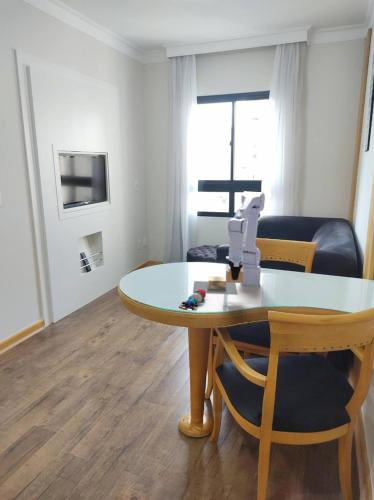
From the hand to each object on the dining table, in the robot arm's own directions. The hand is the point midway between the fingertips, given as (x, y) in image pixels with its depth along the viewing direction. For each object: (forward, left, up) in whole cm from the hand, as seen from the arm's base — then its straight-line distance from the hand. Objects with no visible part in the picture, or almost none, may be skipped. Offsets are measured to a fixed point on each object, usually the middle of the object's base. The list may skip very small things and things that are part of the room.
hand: (234, 278), depth 154 cm
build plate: (+8, -12, -9) cm, 17 cm away
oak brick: (+7, -13, -9) cm, 17 cm away
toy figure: (+17, +7, -10) cm, 21 cm away
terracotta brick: (0, 0, -1) cm, 1 cm away
